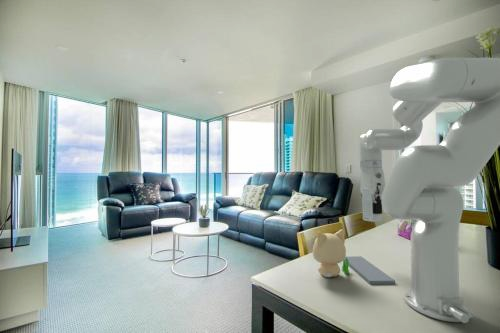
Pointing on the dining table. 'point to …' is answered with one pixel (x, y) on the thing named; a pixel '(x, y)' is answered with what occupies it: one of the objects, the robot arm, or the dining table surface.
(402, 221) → the candy bar box
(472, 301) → the dining table surface
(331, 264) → the kitten
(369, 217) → the skincare box
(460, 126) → the robot arm
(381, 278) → the mat
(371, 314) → the dining table surface
